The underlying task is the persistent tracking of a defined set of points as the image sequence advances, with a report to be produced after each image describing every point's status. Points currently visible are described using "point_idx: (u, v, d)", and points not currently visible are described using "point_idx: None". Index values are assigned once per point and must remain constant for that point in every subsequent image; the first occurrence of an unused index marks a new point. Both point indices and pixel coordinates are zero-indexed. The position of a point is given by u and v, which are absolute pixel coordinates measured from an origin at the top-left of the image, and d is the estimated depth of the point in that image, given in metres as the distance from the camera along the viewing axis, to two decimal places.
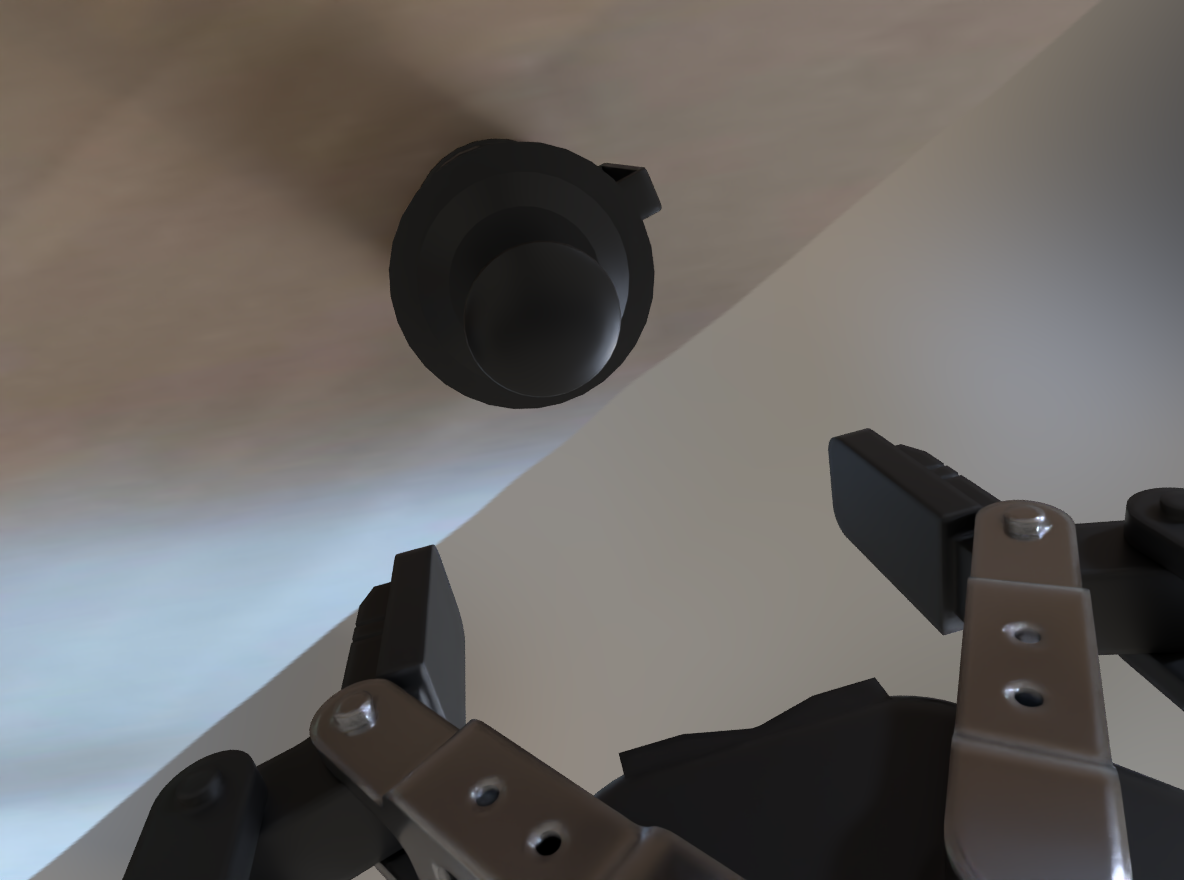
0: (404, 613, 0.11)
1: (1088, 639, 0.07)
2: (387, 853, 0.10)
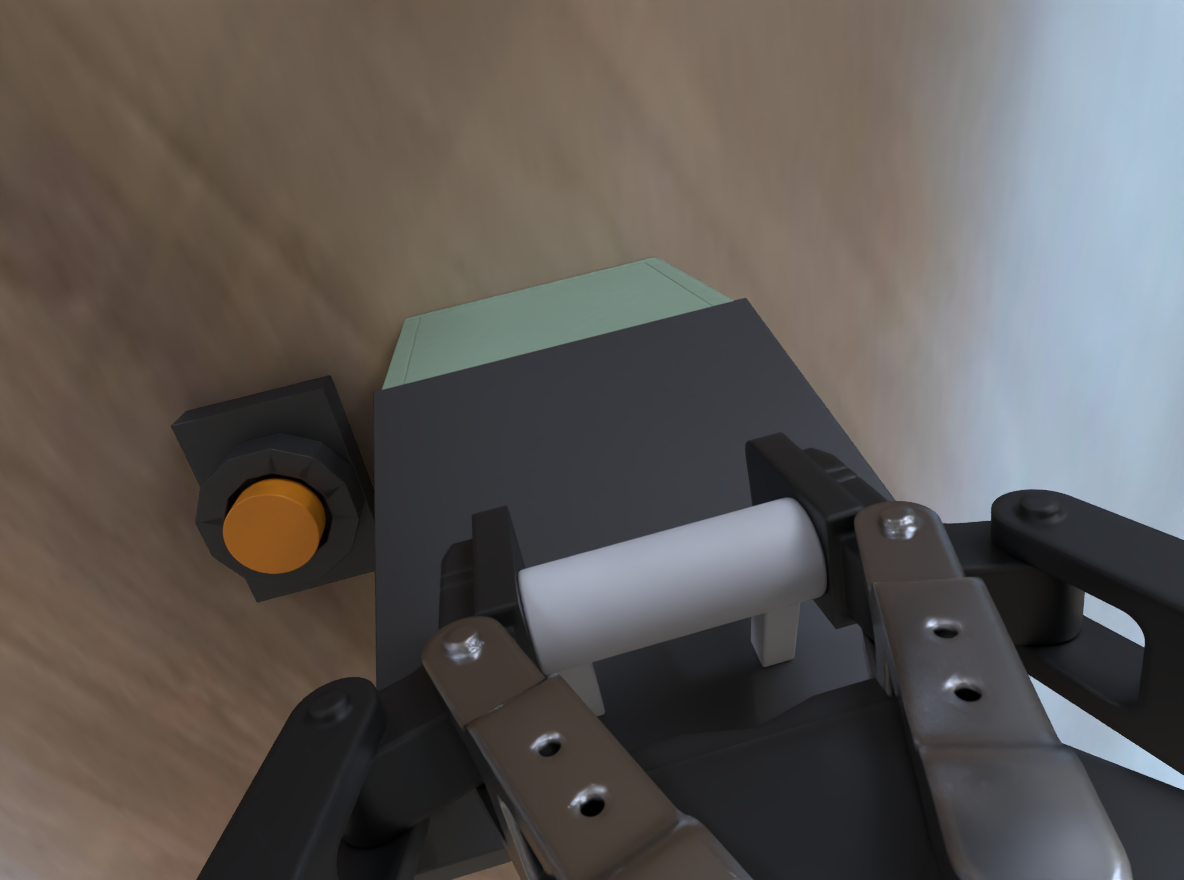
0: (491, 563, 0.12)
1: (997, 625, 0.08)
2: None
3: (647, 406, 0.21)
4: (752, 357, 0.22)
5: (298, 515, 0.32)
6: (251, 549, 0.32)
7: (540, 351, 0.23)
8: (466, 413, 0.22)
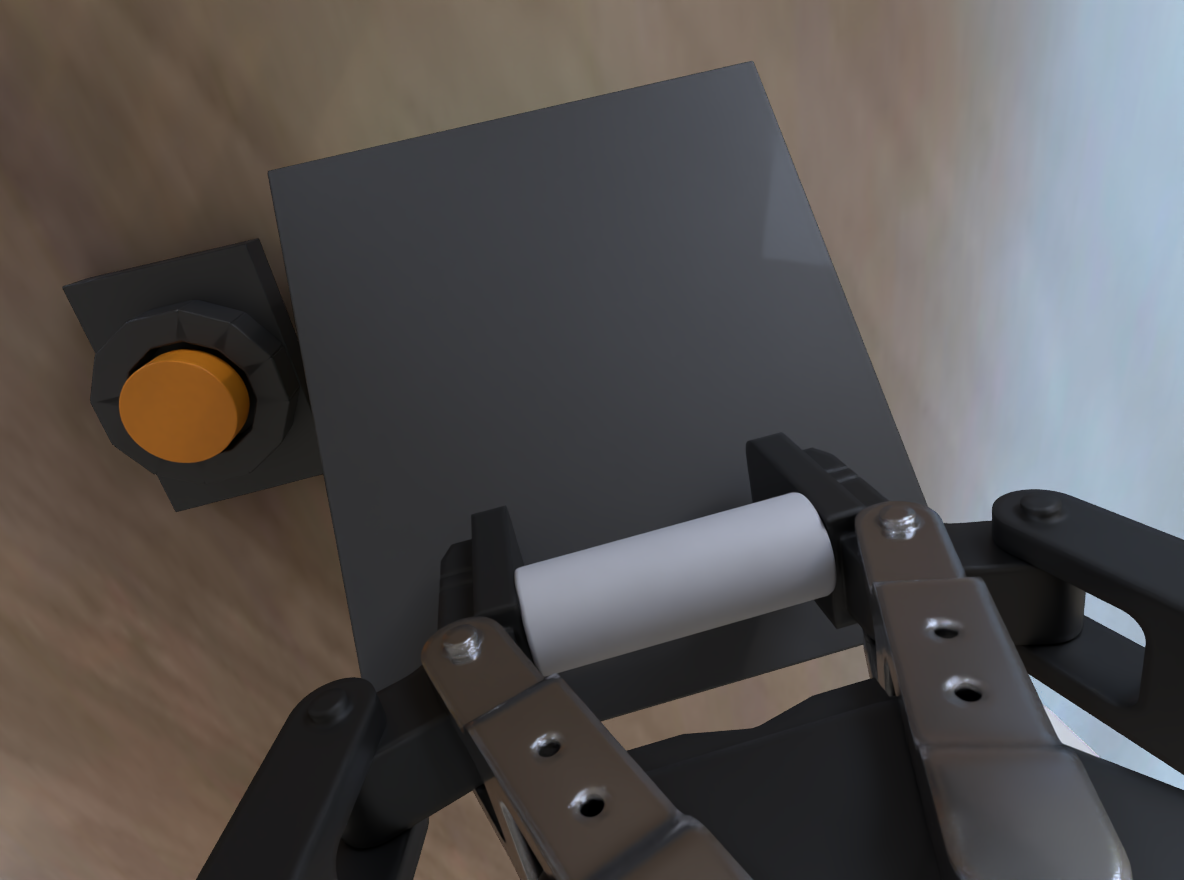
0: (490, 563, 0.12)
1: (998, 625, 0.08)
2: None
3: (625, 235, 0.17)
4: (753, 169, 0.18)
5: (211, 388, 0.26)
6: (155, 431, 0.27)
7: (487, 124, 0.18)
8: (399, 223, 0.17)
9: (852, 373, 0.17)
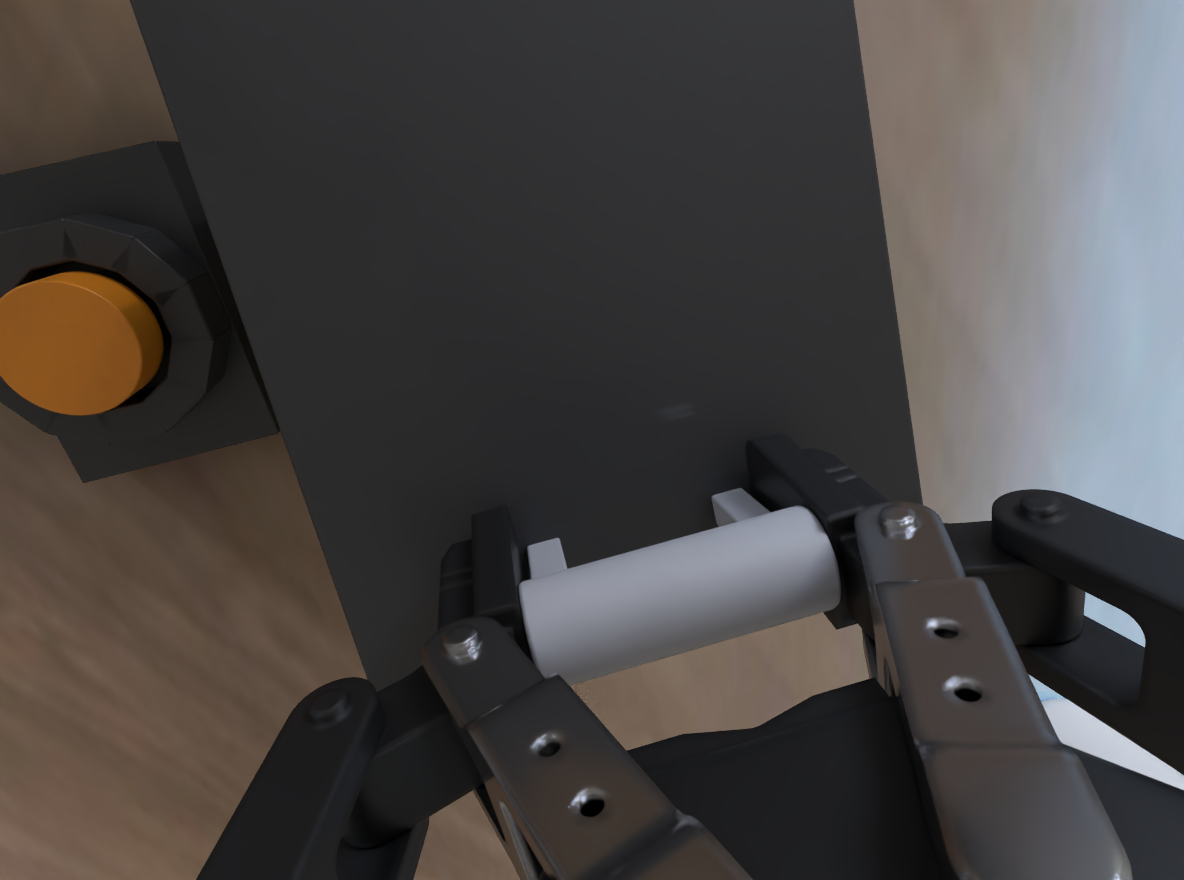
0: (491, 563, 0.12)
1: (997, 625, 0.08)
2: None
3: (630, 103, 0.13)
4: (802, 10, 0.14)
5: (105, 318, 0.21)
6: (35, 373, 0.21)
7: None
8: (326, 65, 0.13)
9: (870, 301, 0.15)
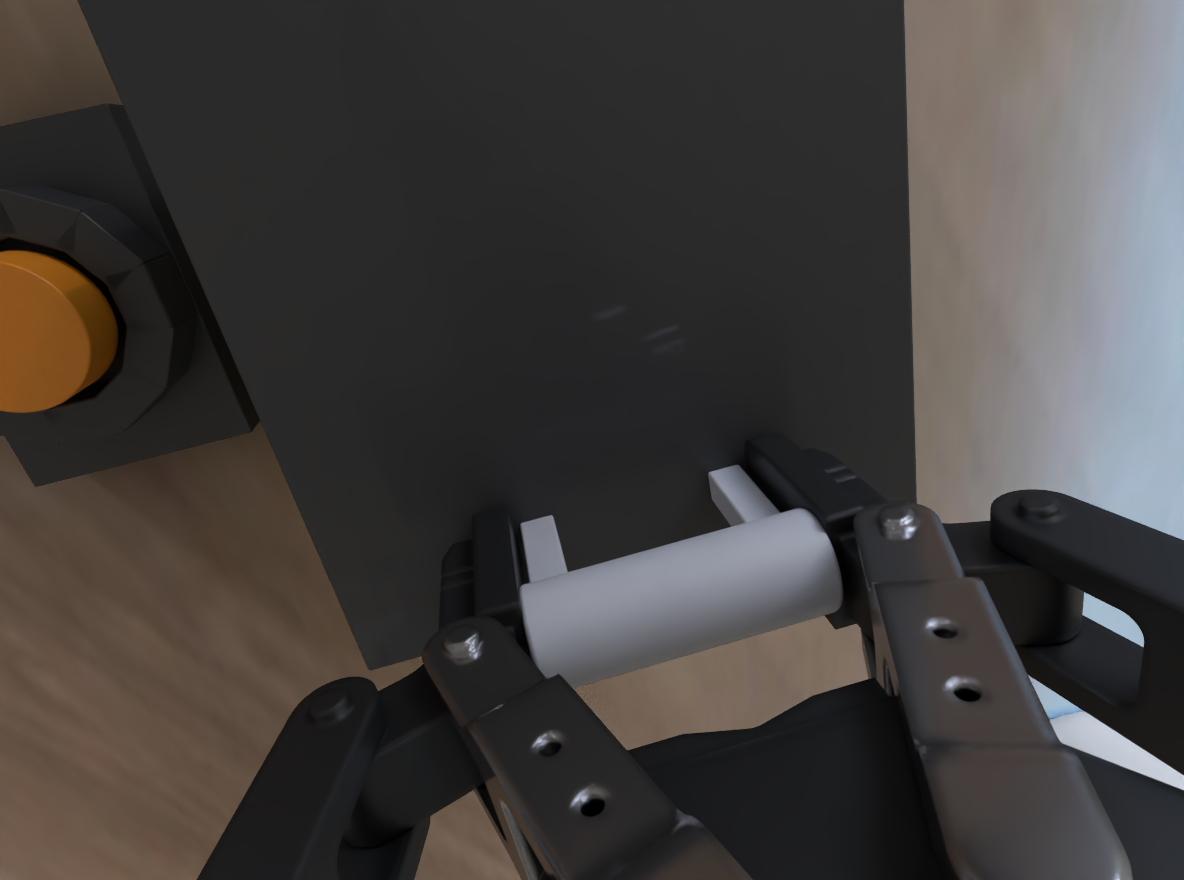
0: (491, 563, 0.12)
1: (996, 625, 0.08)
2: None
3: (642, 50, 0.12)
4: None
5: (47, 303, 0.18)
6: None
7: None
8: None
9: (886, 275, 0.14)
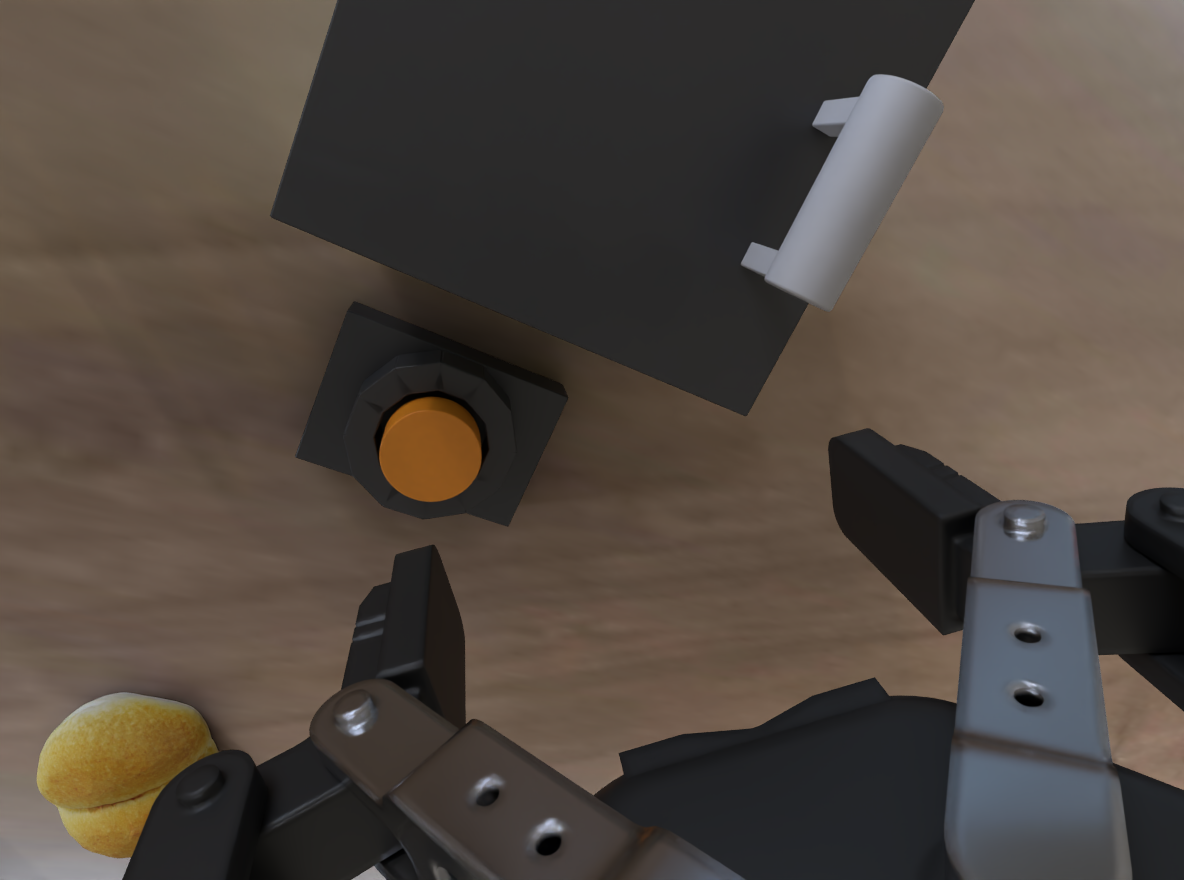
0: (404, 613, 0.11)
1: (1088, 639, 0.07)
2: (386, 853, 0.10)
3: None
4: None
5: (429, 421, 0.28)
6: (431, 483, 0.29)
7: None
8: (397, 147, 0.18)
9: None
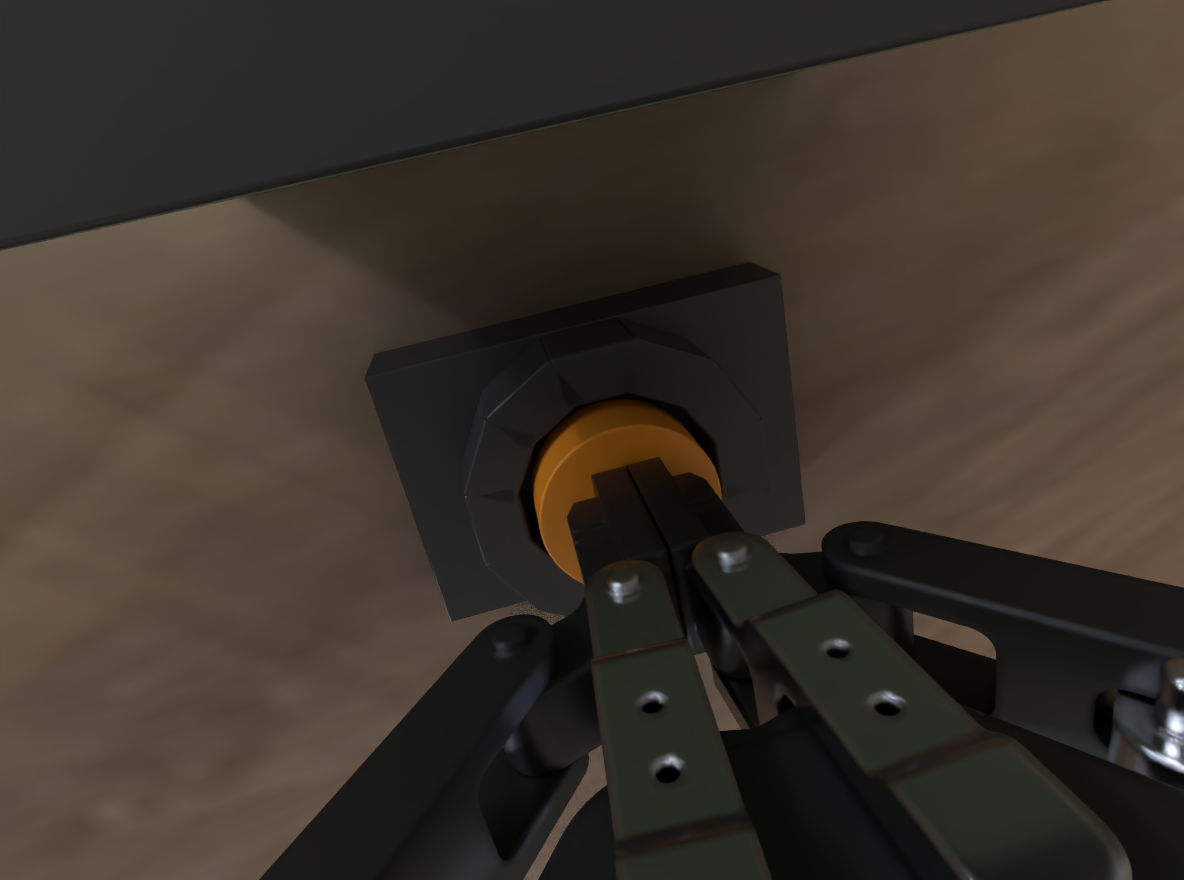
0: (627, 515, 0.13)
1: (877, 631, 0.08)
2: None
3: None
4: None
5: (592, 460, 0.15)
6: None
7: None
8: None
9: None
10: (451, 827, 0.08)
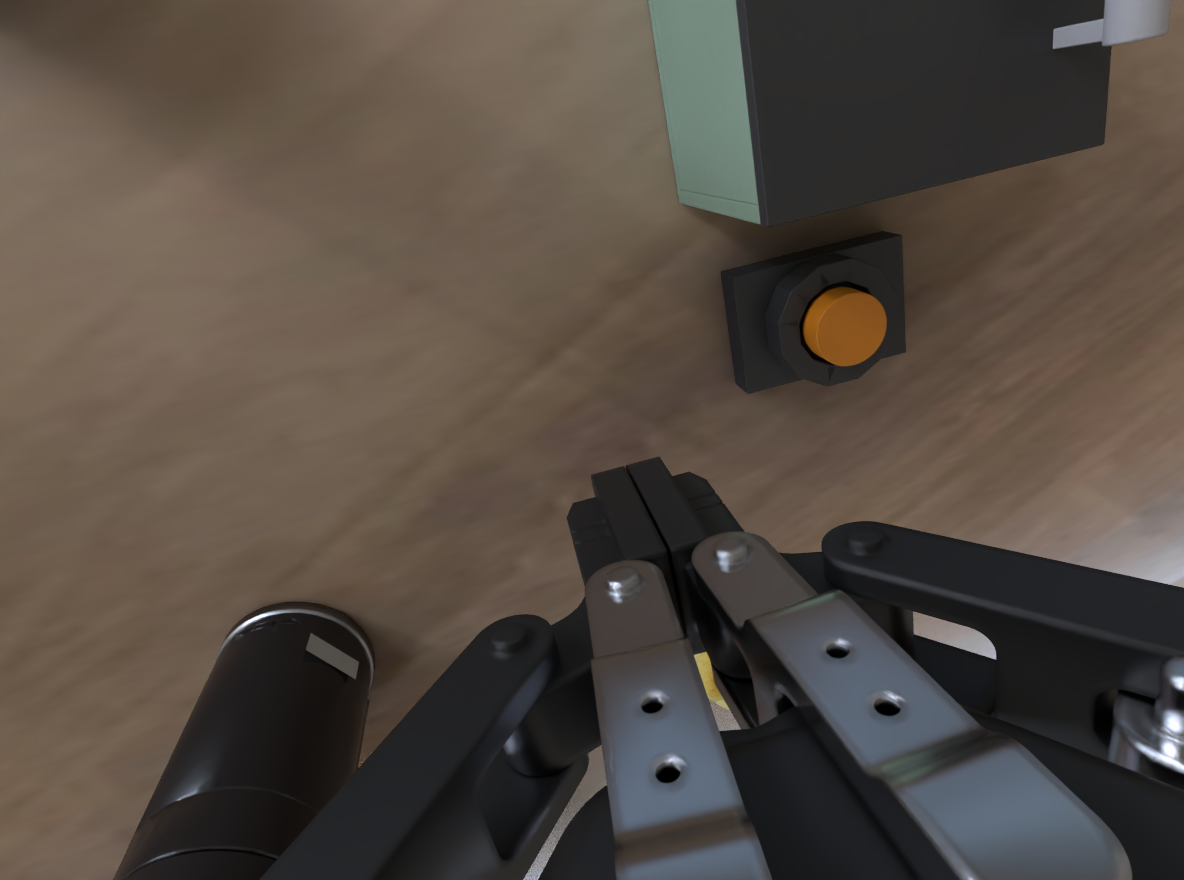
0: (626, 516, 0.13)
1: (876, 631, 0.08)
2: None
3: None
4: None
5: (839, 306, 0.38)
6: (860, 346, 0.39)
7: (755, 71, 0.26)
8: (816, 137, 0.27)
9: None
10: (451, 827, 0.08)
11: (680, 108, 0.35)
